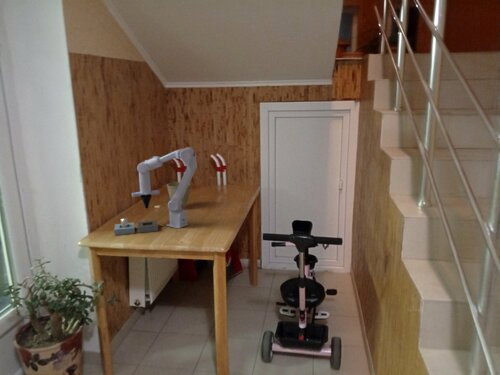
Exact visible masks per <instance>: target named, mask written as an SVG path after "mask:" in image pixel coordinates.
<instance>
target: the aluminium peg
mask: <svg viewBox="0 0 500 375" xmlns="http://www.w3.org/2000/svg"><path fill="white" fill-rule="evenodd" d="M119 221H120V224H121V228H124V227H128V223H129V220H128V217H122V218H120V220H119Z"/></svg>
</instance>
